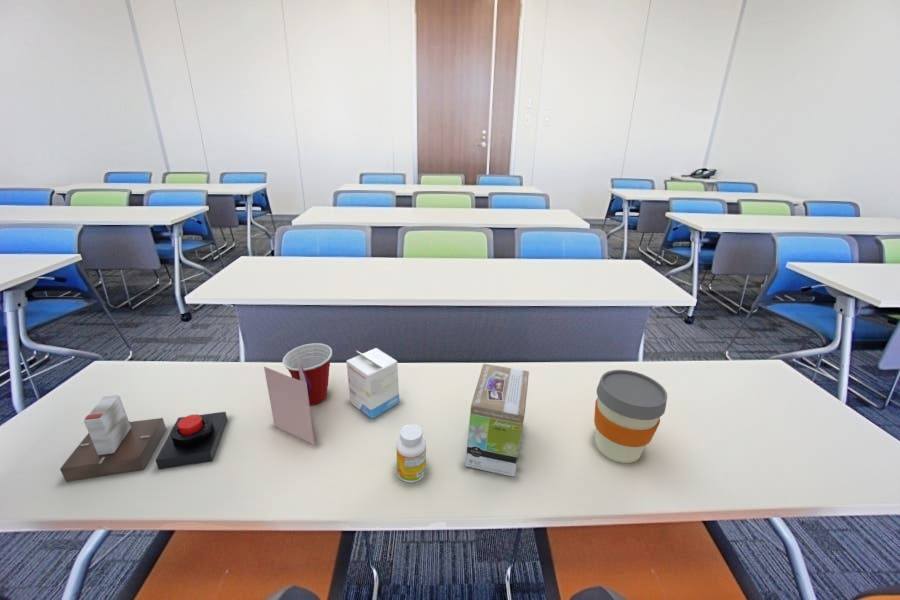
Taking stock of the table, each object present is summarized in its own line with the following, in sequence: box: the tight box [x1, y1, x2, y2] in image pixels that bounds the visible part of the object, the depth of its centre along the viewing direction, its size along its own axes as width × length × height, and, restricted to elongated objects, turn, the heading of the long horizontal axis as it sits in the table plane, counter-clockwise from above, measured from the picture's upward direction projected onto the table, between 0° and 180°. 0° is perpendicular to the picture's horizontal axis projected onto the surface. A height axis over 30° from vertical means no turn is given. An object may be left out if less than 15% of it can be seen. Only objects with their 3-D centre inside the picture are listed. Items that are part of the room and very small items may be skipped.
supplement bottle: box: [395, 423, 427, 483], centre depth 73 cm, size 5×5×10 cm
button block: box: [155, 411, 228, 470], centre depth 79 cm, size 9×12×4 cm
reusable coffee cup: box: [593, 369, 668, 464], centre depth 80 cm, size 13×13×15 cm
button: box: [178, 414, 203, 435], centre depth 78 cm, size 4×4×2 cm
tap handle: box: [83, 394, 131, 455], centre depth 74 cm, size 7×2×8 cm, turn 15°
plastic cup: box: [282, 342, 333, 406], centre depth 92 cm, size 11×11×12 cm
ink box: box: [346, 347, 400, 420], centre depth 91 cm, size 9×8×13 cm
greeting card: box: [263, 356, 315, 446], centre depth 81 cm, size 11×7×15 cm, turn 28°
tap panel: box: [59, 417, 167, 482], centre depth 76 cm, size 12×11×3 cm
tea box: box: [464, 363, 530, 478], centre depth 79 cm, size 15×10×15 cm, turn 167°
